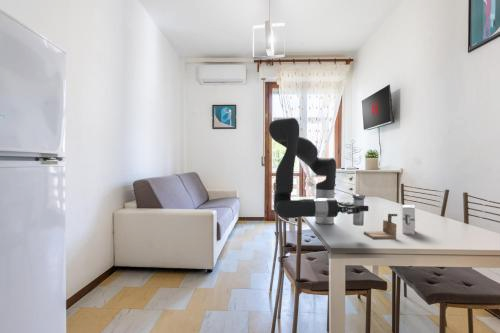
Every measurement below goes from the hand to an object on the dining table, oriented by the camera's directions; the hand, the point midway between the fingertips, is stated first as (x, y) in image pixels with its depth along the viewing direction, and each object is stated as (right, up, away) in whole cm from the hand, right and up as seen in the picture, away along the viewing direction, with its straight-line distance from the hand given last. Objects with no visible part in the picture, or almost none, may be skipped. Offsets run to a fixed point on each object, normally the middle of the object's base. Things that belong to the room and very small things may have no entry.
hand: (365, 207), depth 116 cm
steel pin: (-3, -7, 0) cm, 8 cm away
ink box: (+25, -13, +13) cm, 31 cm away
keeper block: (+10, -13, +6) cm, 17 cm away
